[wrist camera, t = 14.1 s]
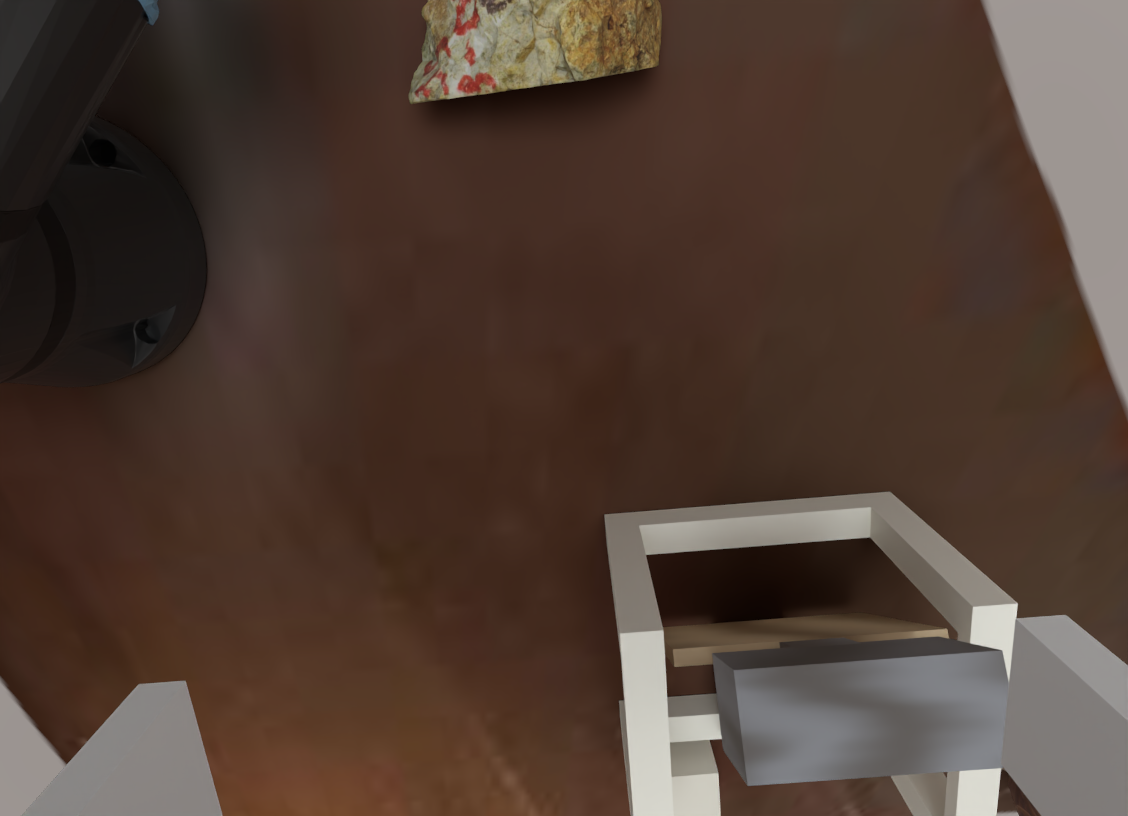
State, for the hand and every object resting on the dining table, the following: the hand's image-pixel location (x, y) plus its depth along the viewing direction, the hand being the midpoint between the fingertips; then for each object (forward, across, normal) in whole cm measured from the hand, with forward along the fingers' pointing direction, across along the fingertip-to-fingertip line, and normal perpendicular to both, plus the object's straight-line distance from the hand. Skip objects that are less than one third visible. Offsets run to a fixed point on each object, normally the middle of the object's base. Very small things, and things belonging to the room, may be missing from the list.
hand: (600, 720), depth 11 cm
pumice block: (+32, +5, -30) cm, 44 cm away
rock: (+32, -1, +18) cm, 37 cm away
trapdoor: (+21, +10, -14) cm, 27 cm away
